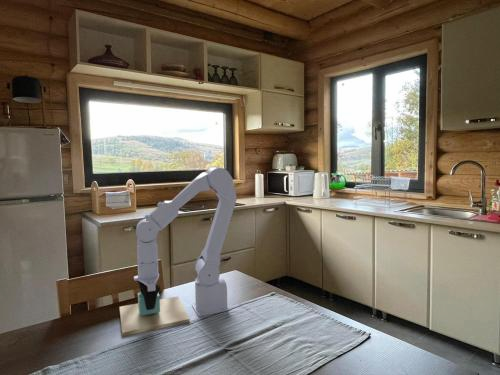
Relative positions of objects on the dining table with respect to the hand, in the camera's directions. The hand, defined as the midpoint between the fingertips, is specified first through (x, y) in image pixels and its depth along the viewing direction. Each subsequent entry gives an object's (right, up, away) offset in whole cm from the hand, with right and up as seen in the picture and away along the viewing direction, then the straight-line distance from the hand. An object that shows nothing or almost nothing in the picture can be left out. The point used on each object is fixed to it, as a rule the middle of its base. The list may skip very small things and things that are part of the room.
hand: (149, 305), depth 98 cm
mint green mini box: (0, -2, 0) cm, 2 cm away
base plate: (+1, -3, +1) cm, 4 cm away
